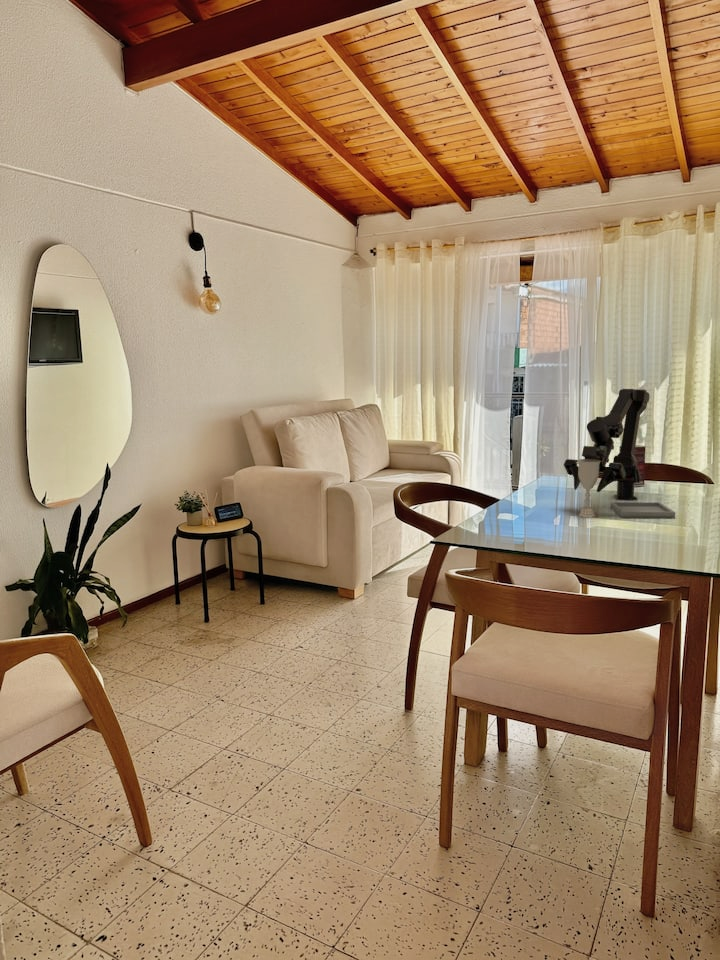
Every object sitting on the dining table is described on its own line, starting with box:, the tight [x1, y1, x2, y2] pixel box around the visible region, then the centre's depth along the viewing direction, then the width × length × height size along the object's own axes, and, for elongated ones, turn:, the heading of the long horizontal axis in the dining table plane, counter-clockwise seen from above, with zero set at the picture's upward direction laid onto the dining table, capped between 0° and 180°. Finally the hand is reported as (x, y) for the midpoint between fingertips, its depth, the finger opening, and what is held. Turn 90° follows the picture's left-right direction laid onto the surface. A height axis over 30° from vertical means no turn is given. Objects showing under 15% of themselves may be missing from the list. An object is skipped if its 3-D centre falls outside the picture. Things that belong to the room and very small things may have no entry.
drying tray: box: [609, 501, 676, 519], centre depth 221 cm, size 15×16×2 cm
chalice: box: [576, 458, 601, 518], centre depth 218 cm, size 7×7×18 cm
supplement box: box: [618, 444, 646, 488], centre depth 264 cm, size 9×5×16 cm, turn 98°
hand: (586, 490), depth 217 cm, fingers open, 7 cm apart
